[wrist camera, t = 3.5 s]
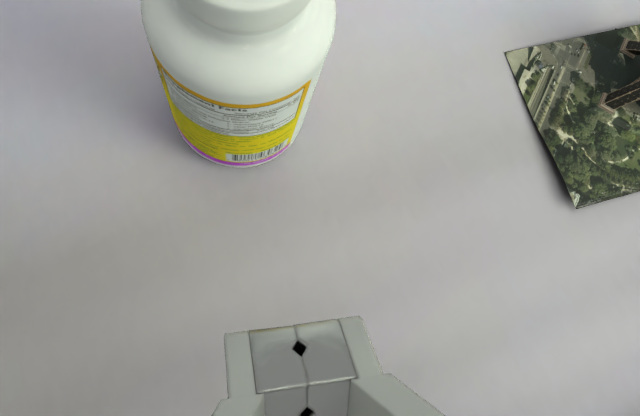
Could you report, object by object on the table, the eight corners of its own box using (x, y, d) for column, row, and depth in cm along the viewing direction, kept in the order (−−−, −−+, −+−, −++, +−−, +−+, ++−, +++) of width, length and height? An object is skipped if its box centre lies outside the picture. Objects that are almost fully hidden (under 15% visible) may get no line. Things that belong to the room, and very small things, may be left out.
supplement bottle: (218, 28, 27) (206, -212, 15) (324, 94, 27) (401, -88, 15) (146, 128, 25) (63, -49, 13) (260, 196, 26) (286, 88, 13)
